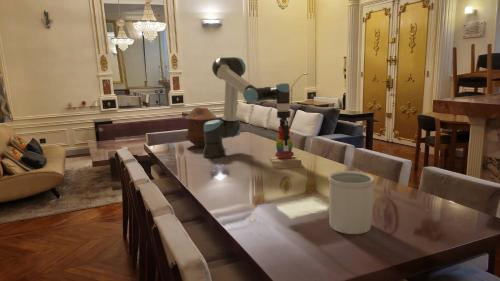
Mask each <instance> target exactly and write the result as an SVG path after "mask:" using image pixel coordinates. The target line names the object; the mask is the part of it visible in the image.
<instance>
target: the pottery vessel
mask: <svg viewBox="0 0 500 281" xmlns="http://www.w3.org/2000/svg"><path fill="white" fill-rule="evenodd" d="M216 119H217V115H216V114H214V113H213V112H212V111H211V110H210V109H208V107H206V106H199V107H198V106H197V107H194V108H193V109H192V110H191V111H190V113H189V114H187V115H186V116H185V120H187V130H186V132H185V134H184V138H186V140H188V141H189V142H190V143H191V144H193V145H194V146H195V148H204V147H205V137H204V124H205V123H206V122H208V121H212V120H216Z"/></svg>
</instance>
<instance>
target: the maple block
mask: <svg viewBox="0 0 500 281" xmlns="http://www.w3.org/2000/svg"><path fill="white" fill-rule="evenodd" d="M269 163H270V165H271V167H272V169H286V168H302V160H301V159H300V157H299V156H298V155H297V154H294V155H293V156H292V157H288V158H280V157H277V156H276V155H269Z"/></svg>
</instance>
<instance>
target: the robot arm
mask: <svg viewBox="0 0 500 281" xmlns="http://www.w3.org/2000/svg"><path fill="white" fill-rule="evenodd" d="M246 68H247V67H246V64H245V62H244V60H243V59H242V58H241V57H234V56H232V57H218V58H217V59H214V61H213V63H212V66H211V70H212V73H213V74H214V76H215V77H216V78H217V79H218V80H223V81H224V82H225V85H224V86H225V87H224V88H225V89H224V104H223V105H224V107H223V110H224V111H223V116H221V119H215V120H212V121H208V122H206V123H205V124H204V137H205V147H203V152H202V155H203V156H202V157H203V158H206V159H207V158H208V159H216V158H222V157H224V156H226V152H227V151H226V150H225V147H224V144H223V139H227V138H228V139H229V138H234V137H237V136H239V135H240V134H241V131H242V124H241V121H240V119H239V117H238V115H237V112H238V97H239V93H241V95H242V96H243V100H244V101H246V102H247V103H257V102H264V101H276V111H277V112H276V117H277V118H278V119H279V126H282V129H283V137H284V139H282V140H283V147H284V151H289V149H288V139H289V136H290V133H289V132H288V126H289V121H288V120H287V119H289V118H291V111H290V110H291V106H292V104H291V97H290V96H291V94H290V92H291V89H290V84H289V83H288V82H287V83H286V82H285V83H276V85H275V86H266V87H265V86H264V87H255V86H254V85H253V84H251V83H250V82H249V81H247V80H245V78H243V75H245V73H246Z"/></svg>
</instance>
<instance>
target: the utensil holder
mask: <svg viewBox="0 0 500 281" xmlns="http://www.w3.org/2000/svg"><path fill="white" fill-rule="evenodd" d="M327 177H328V178H327V179H328V182H329V183H328V200H329V201H328V215H329V217H328V218H329V220H328V221H329V226H330V228H331V229H332V230H334V231H336V232H339V233H342V234H347V235H361V234H364V233H367V232H369V231H370V230H371V228H372V218H373V217H372V216H373V201H374V200H373V196H374V184H375V177H374V176H373V175H371V174H368V173H366V172H361V171H353V170H352V171H351V170H349V171H348V170H343V171H334V172H332V173H329V175H328V176H327Z"/></svg>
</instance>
